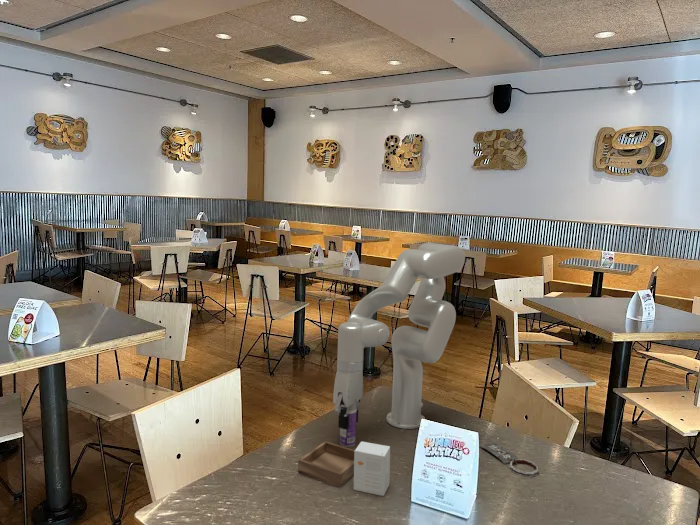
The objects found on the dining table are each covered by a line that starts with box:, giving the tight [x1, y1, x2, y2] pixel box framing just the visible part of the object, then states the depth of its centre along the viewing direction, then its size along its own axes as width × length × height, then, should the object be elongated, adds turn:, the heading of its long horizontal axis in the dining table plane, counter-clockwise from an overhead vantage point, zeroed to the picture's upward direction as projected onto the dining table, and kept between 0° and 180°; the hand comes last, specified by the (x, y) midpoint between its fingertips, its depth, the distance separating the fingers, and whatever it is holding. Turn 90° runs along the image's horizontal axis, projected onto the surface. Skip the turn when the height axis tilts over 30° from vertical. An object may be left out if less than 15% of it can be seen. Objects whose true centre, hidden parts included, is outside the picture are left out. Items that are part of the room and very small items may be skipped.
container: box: [339, 399, 358, 448], centre depth 153 cm, size 5×5×15 cm
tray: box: [297, 440, 355, 488], centre depth 139 cm, size 13×13×4 cm
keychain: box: [479, 442, 540, 478], centre depth 147 cm, size 8×19×2 cm, turn 26°
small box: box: [353, 441, 391, 497], centre depth 130 cm, size 8×6×10 cm
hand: (348, 424), depth 153 cm, fingers closed on container, 4 cm apart
